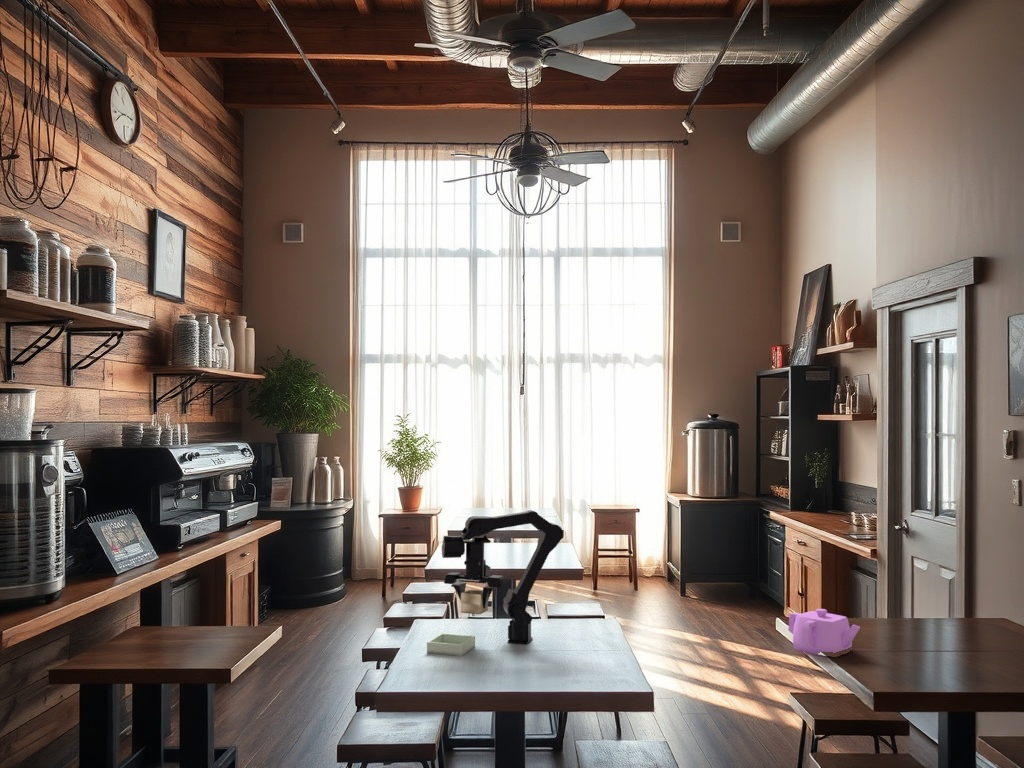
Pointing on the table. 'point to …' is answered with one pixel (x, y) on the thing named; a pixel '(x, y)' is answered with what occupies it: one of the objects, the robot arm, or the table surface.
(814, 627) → the teakettle
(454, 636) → the pale green square tray
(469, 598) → the small crate
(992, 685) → the table surface
